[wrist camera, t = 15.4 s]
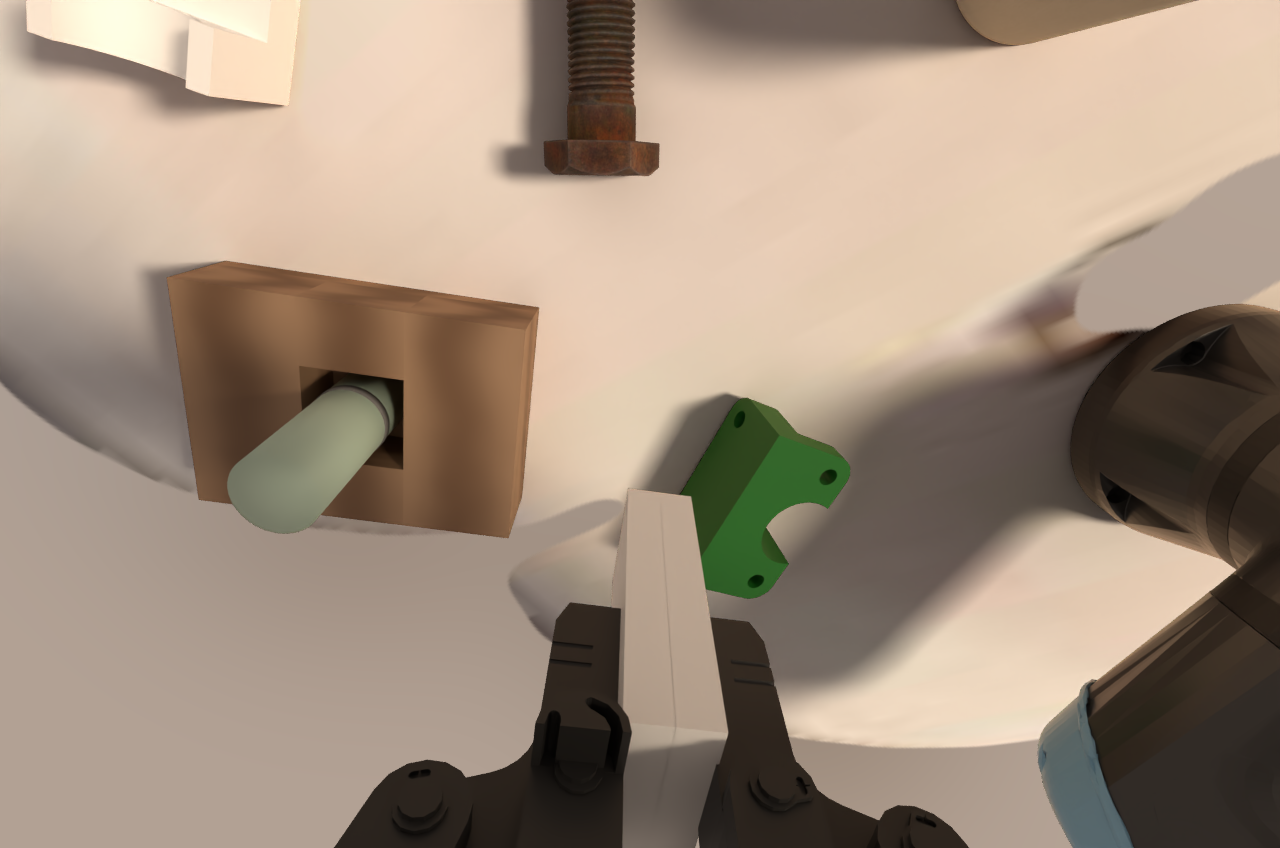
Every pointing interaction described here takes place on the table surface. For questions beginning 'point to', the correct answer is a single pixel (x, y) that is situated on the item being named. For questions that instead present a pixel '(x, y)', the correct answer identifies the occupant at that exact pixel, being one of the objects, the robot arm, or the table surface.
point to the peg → (315, 453)
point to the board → (369, 345)
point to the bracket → (186, 39)
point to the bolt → (601, 96)
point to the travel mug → (1050, 16)
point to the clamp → (755, 495)
